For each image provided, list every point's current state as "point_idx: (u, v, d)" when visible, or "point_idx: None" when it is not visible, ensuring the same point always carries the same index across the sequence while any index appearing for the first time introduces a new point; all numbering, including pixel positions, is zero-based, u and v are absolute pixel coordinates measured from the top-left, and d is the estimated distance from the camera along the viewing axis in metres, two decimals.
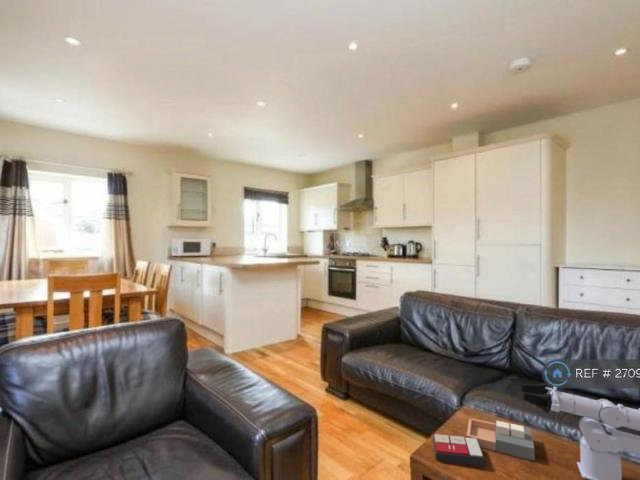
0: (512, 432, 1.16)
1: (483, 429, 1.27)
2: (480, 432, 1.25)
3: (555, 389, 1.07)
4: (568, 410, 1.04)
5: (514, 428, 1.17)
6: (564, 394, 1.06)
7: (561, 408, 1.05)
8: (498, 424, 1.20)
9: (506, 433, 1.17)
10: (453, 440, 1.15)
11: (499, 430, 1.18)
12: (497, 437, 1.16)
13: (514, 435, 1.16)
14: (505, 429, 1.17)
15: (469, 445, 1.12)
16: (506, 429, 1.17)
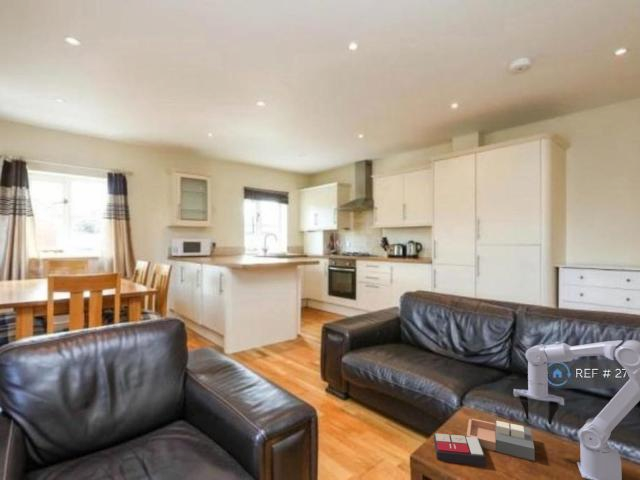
0: (512, 432, 1.16)
1: (483, 429, 1.27)
2: (480, 432, 1.25)
3: None
4: (530, 385, 1.15)
5: (514, 428, 1.17)
6: None
7: (530, 390, 1.15)
8: (498, 424, 1.20)
9: (506, 433, 1.17)
10: (454, 439, 1.16)
11: (499, 430, 1.18)
12: (497, 437, 1.16)
13: (514, 435, 1.16)
14: (505, 429, 1.17)
15: (470, 444, 1.13)
16: (506, 429, 1.17)
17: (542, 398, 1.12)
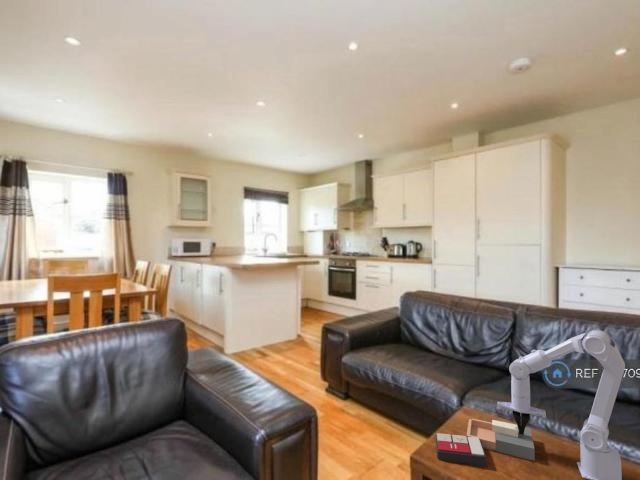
0: (506, 431, 1.17)
1: (483, 429, 1.27)
2: (480, 432, 1.25)
3: None
4: (513, 398, 1.17)
5: (508, 427, 1.18)
6: None
7: (513, 403, 1.17)
8: (494, 423, 1.20)
9: (502, 432, 1.18)
10: (455, 439, 1.16)
11: (495, 429, 1.19)
12: (497, 437, 1.16)
13: (508, 434, 1.17)
14: (500, 428, 1.18)
15: (471, 444, 1.12)
16: (501, 428, 1.18)
17: (524, 411, 1.14)
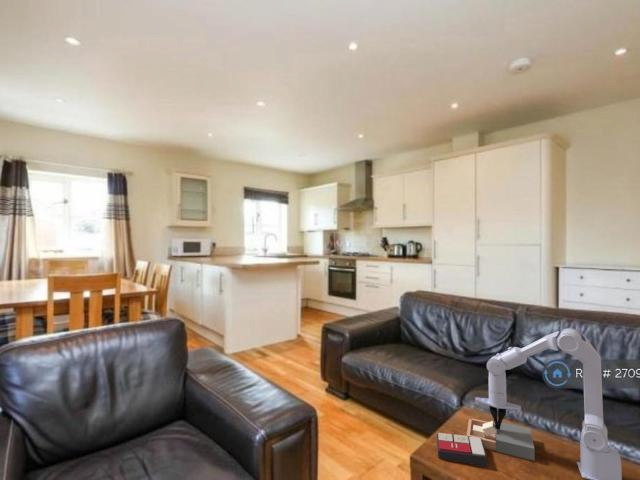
0: (485, 432, 1.20)
1: None
2: None
3: None
4: (490, 394, 1.20)
5: (485, 427, 1.21)
6: None
7: (489, 398, 1.20)
8: None
9: (475, 431, 1.22)
10: (457, 439, 1.16)
11: (482, 434, 1.21)
12: (497, 437, 1.16)
13: (488, 434, 1.19)
14: (476, 436, 1.22)
15: (472, 444, 1.12)
16: (475, 435, 1.22)
17: (500, 406, 1.18)
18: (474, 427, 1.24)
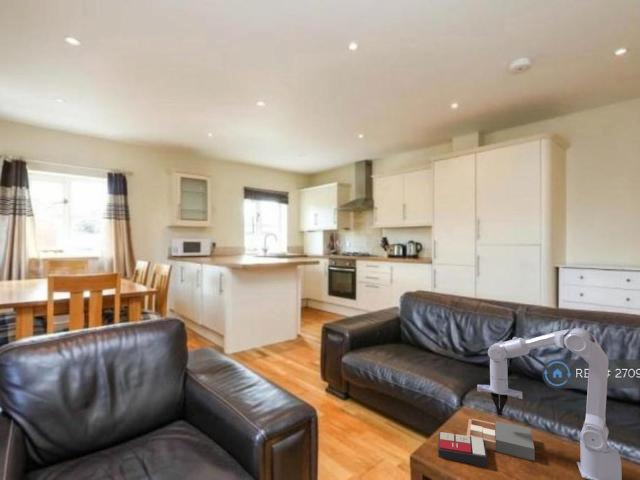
0: (484, 436, 1.20)
1: None
2: None
3: None
4: (491, 380, 1.22)
5: (486, 432, 1.20)
6: None
7: (491, 385, 1.22)
8: None
9: (473, 431, 1.22)
10: (458, 438, 1.16)
11: (479, 434, 1.21)
12: (497, 437, 1.16)
13: None
14: (474, 435, 1.22)
15: (473, 444, 1.12)
16: (473, 434, 1.22)
17: (502, 392, 1.19)
18: (472, 427, 1.24)
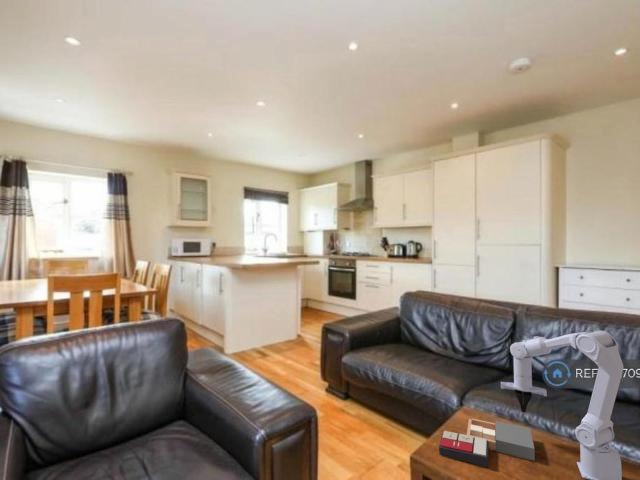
0: (484, 436, 1.20)
1: None
2: None
3: None
4: (515, 377, 1.24)
5: (486, 432, 1.20)
6: None
7: (515, 382, 1.24)
8: None
9: (473, 431, 1.22)
10: (461, 438, 1.16)
11: (479, 434, 1.21)
12: (497, 437, 1.16)
13: None
14: (474, 435, 1.22)
15: (476, 444, 1.12)
16: (473, 434, 1.22)
17: (526, 390, 1.21)
18: (472, 427, 1.24)
